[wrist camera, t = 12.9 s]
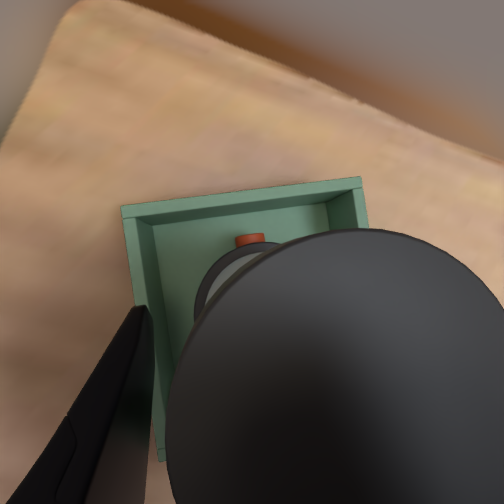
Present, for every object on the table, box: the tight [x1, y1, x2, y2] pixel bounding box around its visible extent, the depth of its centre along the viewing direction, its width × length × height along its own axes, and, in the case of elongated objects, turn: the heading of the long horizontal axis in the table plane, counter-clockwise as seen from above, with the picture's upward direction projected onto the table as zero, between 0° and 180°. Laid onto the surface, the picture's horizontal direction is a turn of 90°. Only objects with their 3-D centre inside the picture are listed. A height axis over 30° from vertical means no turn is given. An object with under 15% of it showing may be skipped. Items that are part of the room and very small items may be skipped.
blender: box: [165, 228, 504, 504], centre depth 11 cm, size 7×7×12 cm
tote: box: [120, 176, 369, 462], centre depth 15 cm, size 12×12×4 cm
